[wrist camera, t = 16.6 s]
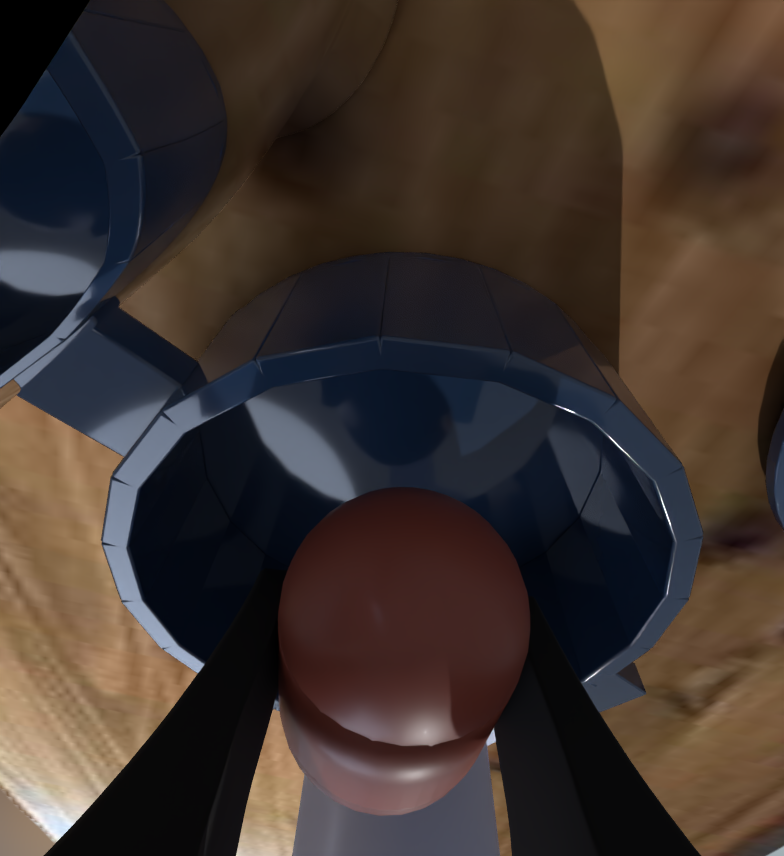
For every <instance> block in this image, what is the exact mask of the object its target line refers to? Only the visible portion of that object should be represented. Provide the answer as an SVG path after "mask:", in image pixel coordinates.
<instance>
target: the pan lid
mask: <svg viewBox="0 0 784 856" xmlns="http://www.w3.org/2000/svg"><path fill="white" fill-rule="evenodd" d="M765 481H766V488H767V494H768V500H769V504H770V506H771V509H772V511H773V514H774V516H775V519H776V520H777V522H778V523H779V525H780V526H781V527H782V529H783V530H784V407H783V410H782V412H781V415H780V417H779V420H778V422H777V424H776V427H775V429H774V432H773V435H772V439H771V443H770V447H769V451H768V455H767V462H766V480H765Z"/></svg>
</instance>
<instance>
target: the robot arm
mask: <svg viewBox="0 0 784 856" xmlns="http://www.w3.org/2000/svg"><path fill="white" fill-rule="evenodd" d="M286 573H287V571H286V570H276V569H267V568H265V569H263V570H262V571H260V573H259V575H258V577H257V579H256V581H255V583H254V585H253V587H252V589H251V591H250V593H249V594H248V596H247V598H246V600H245V602H244V603H243V605H242V607H241V608H240V610H239V612H238V613H237V615H236V617H235V618H234V620H233V622H232V623H231V625H230V627H229V628H228V630H227V631H226V633H225V634H224V636H223V637H222V639H221V640H220V642H219V643H218V645H217V646H216V648H215V649H214V651H213V652H212V654H211V655H210V657H209V659H208V660H207V662H206V663H205V664H204V666H203V667H202V669H201V670H200V672H199V673H198V674H197V676H196V677H195V678H194V680H193V681H192V682H191V684H190V685H189V687H188V688H187V689H186V691H185V692H184V693H183V695H182V696H181V697H180V699H179V700H178V702H177V703H176V704H175V706H174V707H173V708H172V710H171V711H170V712H169V713H168V715H167V716H166V717H165V719H164V720H163V721H162V722H161V724H160V725H159V726H158V727H157V729H156V730H155V731H154V732H153V734H152V735H151V736H150V737H149V739H148V740H147V741H146V742H145V744H144V745H143V746H142V747H141V748H140V750H139V751H138V752H137V753H136V754H135V756H134V757H133V758H132V759H131V760H130V762H129V763H128V764H127V765H126V766H125V767H124V769H123V770H122V771H121V772H120V773H119V774H118V775H117V777H116V778H115V779H114V780H113V781H112V782H111V783H110V785H109V786H108V787H107V788H106V789H105V790H104V791H103V793H102V794H101V795H100V796H99V797H98V798H97V799H96V801H95V802H94V803H93V804H92V805H91V806H90V807H89V808H88V809H87V810H86V812H85V813H84V814H83V815H82V816H81V817H80V818H79V819H78V820H77V821H76V822H75V824H74V825H73V826H72V827H71V828H70V829H69V830H68V831H67V832H66V833H65V834H64V835H63V836H62V837H61V838H60V839H59V840H58V841H57V842H56V843H55V844H54V846H53V847H52V848H51V849H50V850H49V851H48V852H47V853H46V854H45V855H44V856H236V853H237V848H238V843H239V838H240V833H241V828H242V823H243V818H244V813H245V809H246V804H247V800H248V796H249V792H250V788H251V784H252V781H253V777H254V774H255V770H256V766H257V763H258V759H259V756H260V752H261V749H262V745H263V742H264V738H265V735H266V731H267V728H268V724H269V721H270V717H271V714H272V710H273V707H274V703H275V699H276V696H277V692H278V689H279V684H278V610H279V604H280V598H281V592H282V586H283V581H284V579H285V576H286ZM528 600H529V608H530V638H529V648H528V653H527V656H526V659H525V663H524V666H523V669H522V672H521V675H520V678H519V681H518V683H517V685H516V688H515V690H514V691H513V693H512V695H511V697H510V699H509V701H508V703H507V705H506V706H505V708H504V710H503V712H502V714H501V716H500V717H499V719H498V721H497V723H496V725H495V727H494V728H493V730H492V732H491V734H490V736H489V738H488V739H487V741H486V743H485V745H484V747H483V748H482V750H481V752H480V754H479V756H478V758H477V759H476V761H475V763H474V764H473V766H472V767H471V769H470V770H469V771H468V773H467V774H466V775H465V776H464V777H463V779H462V780H461V781H460V782H459V783H458V784H457V785H456V786H455V787H454V788H452V789H451V790H450V791H449V792H448V793H447V794H446V795H445V796H444V797H443V798H441V799H439V800H438V801H436V802H434V803H432V804H431V805H429V806H427V807H426V808H423V809H420V810H417V811H413V812H410V813H407V814H403V815H385V816H378V815H373V814H368V813H363V812H358V811H354V810H352V809H350V808H348V807H346V806H344V805H341V804H339V803H337V802H335V801H333V800H332V799H331V798H329V797H328V796H327V795H326V794H324V793H323V792H322V791H320V790H319V789H318V788H316V787H315V786H314V785H313V783H312V782H311V781H310V780H309V779H308V777H307V776H306V775H305V774H304V781H303V788H302V794H301V801H300V808H299V814H298V821H297V827H296V834H295V841H294V847H293V854H292V856H500V851H499V843H498V834H497V826H496V817H495V809H494V800H493V792H492V783H491V775H490V767H489V758H488V750H487V746H488V745H490V744H492V743H494V742H496V745H497V750H498V756H499V762H500V768H501V774H502V780H503V786H504V792H505V798H506V804H507V812H508V819H509V827H510V837H511V848H512V856H701V855H700V854H699V853H698V851H697V850H696V849H695V848H694V846H693V845H692V844H691V843H690V841H689V840H688V839H687V837H686V836H685V835H684V833H683V832H682V831H681V830H680V828H679V827H678V826H677V824H676V823H675V822H674V820H673V819H672V818H671V816H670V815H669V814H668V812H667V811H666V810H665V808H664V807H663V806H662V804H661V803H660V802H659V800H658V799H657V798H656V796H655V795H654V793H653V792H652V791H651V789H650V788H649V787H648V785H647V784H646V782H645V781H644V780H643V778H642V777H641V775H640V774H639V772H638V771H637V770H636V768H635V767H634V765H633V764H632V762H631V761H630V759H629V758H628V756H627V755H626V753H625V752H624V750H623V749H622V747H621V746H620V744H619V743H618V741H617V740H616V738H615V737H614V735H613V734H612V732H611V730H610V729H609V727H608V726H607V724H606V723H605V721H604V719H603V718H602V716H601V715H600V713H599V711H598V710H597V708H596V707H595V705H594V703H593V702H592V700H591V698H590V697H589V695H588V693H587V692H586V690H585V688H584V687H583V685H582V683H581V682H580V680H579V678H578V676H577V675H576V673H575V671H574V670H573V668H572V666H571V664H570V663H569V661H568V659H567V657H566V655H565V654H564V652H563V650H562V648H561V646H560V644H559V643H558V641H557V639H556V637H555V635H554V633H553V632H552V630H551V628H550V626H549V624H548V622H547V620H546V618H545V616H544V614H543V612H542V611H541V609H540V607H539V605H538V603H537V601H536V599H535V598H534V597H533V596H528Z"/></svg>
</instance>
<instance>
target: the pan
mask: <svg viewBox="0 0 784 856" xmlns="http://www.w3.org/2000/svg"><path fill="white" fill-rule="evenodd" d="M17 396H18V397H20V398H22V399H24V400H25V401H27V402H29V403H31V404H32V405H34V406H36V407H38V408H39V409H41V410H43V411H44V412H46V413H48V414H50V415H51V416H53V417H55V418H57V419H58V420H60V421H62V422H64V423H65V424H67V425H69V426H71V427H72V428H74V429H76V430H78V431H79V432H81V433H83V434H85V435H86V436H88V437H90V438H92V439H93V440H95V441H97V442H99V443H100V444H102V445H104V446H106V447H107V448H109V449H111V450H113V451H114V452H116V453H118V454H120V455H121V456H123V457H124V458H123V459H122V461H121V462H120V463H119V464H118V466H117V467H116V468H115V470H114V471H113V474H112V476H111V478H110V485H109V491H108V498H107V504H106V511H105V517H104V524H103V530H102V537H101V541H102V547H103V550H104V553H105V556H106V559H107V562H108V565H109V568H110V570H111V573H112V576H113V579H114V582H115V585H116V588H117V591H118V594H119V597H120V599H121V600H122V601H121V602H122V603H123V604H124V606H125V607H126V608H127V609H128V610H129V612H130V613H131V614H132V615H133V616H134V617H135V619H136V620H137V621H138V622H139V623H140V624H141V626H142V627H143V628H144V629H145V630H146V632H147V633H148V634H149V635H150V636H151V637H152V639H153V640H154V641H155V642H156V643H157V645H158V646H159V647H160V648H162V649H163V650H164V651H166V652H167V653H169V654H170V655H172V656H173V657H174V658H176V659H177V660H179V661H180V662H182V663H183V664H185V665H186V666H188V667H189V668H191V669H192V670H193V671H195V672H196V673H199V672H200V670H201V669H202V667H203V666H204V664H205V663H206V662H207V660H208V659H209V657H210V655H211V654H212V652H213V651H214V649H215V648H216V646H217V645H218V643H219V642H220V640H221V639H222V637H223V636H224V634H225V633H226V631H227V630H228V628H229V627H230V625H231V623H232V622H233V620H234V618H235V617H236V615H237V613H238V612H239V610H240V608H241V607H242V605H243V603H244V602H245V600H246V598H247V596H248V594H249V593H250V591H251V589H252V587H253V585H254V583H255V581H256V579H257V577H258V575H259V573H260V571H262V570H263V569H265V568H267V569H276V570H286V571H288V568H289V565H290V563H291V561H292V559H293V557H294V555H295V553H296V551H297V549H298V548H299V546H300V545H301V543H302V542H303V540H304V539H305V537H306V536H307V534H308V533H309V532H310V531H311V530H312V529H313V528H314V527H315V526H316V525H317V524H318V523H319V522H320V521H321V520H322V519H323V518H324V517H325V516H326V515H327V514H328V513H329V512H331V511H332V510H334V509H335V508H337V507H338V506H340V505H341V504H343V503H344V502H347V501H349V500H351V499H354V498H356V497H358V496H361V495H363V494H365V493H368V492H371V491H375V490H379V489H383V488H392V487H415V488H421V489H427V490H432V491H435V492H438V493H441V494H445V495H448V496H450V497H452V498H454V499H456V500H458V501H460V502H462V503H464V504H466V505H467V506H469V507H470V508H472V509H473V510H475V511H476V512H478V513H479V514H480V515H481V516H482V517H483V518H484V519H485V520H487V521H488V522H489V523H490V524H491V526H492V527H493V528H494V529H495V530H496V532H497V533H498V534H499V535H500V536H501V538H502V539H503V540H504V541H505V542H506V544H507V545H508V547H509V549H510V550H511V552H512V554H513V555H514V557H515V559H516V561H517V564H518V567H519V569H520V572H521V575H522V578H523V581H524V584H525V587H526V590H527V593H528V596H533V597H534V598H535V599H536V601H537V603H538V605H539V607H540V609H541V611H542V612H543V614H544V616H545V618H546V620H547V622H548V624H549V626H550V628H551V630H552V632H553V633H554V635H555V637H556V639H557V641H558V643H559V644H560V646H561V648H562V650H563V652H564V654H565V655H566V657H567V659H568V661H569V663H570V664H571V666H572V668H573V670H574V671H575V673H576V675H577V676H578V678H579V680H580V682H581V683H582V685H583V687H584V688H585V690H586V692H587V693H588V695H589V697H590V698H591V700H592V702H593V703H594V705H595V707H596V708H597V710H598V711H599V712H602V711H604V710H607V709H609V708H612V707H615V706H617V705H620V704H622V703H625V702H627V701H630V700H632V699H635V698H638V697H640V696H643V695H645V694H646V691H645V689H644V686H643V683H642V681H641V678H640V676H639V673H638V671H637V668H636V665H635V663H633V661H635V660H636V659H638V658H639V657H640V656H642V655H643V654H645V653H646V652H647V651H649V650H650V648H653V646H654V645H655V644H656V642H657V641H658V640H659V638H660V637H661V636H662V634H663V633H664V632H665V630H666V629H667V628H668V626H669V625H670V624H671V622H672V621H673V620H674V619H675V617H676V616H677V615H678V613H679V612H680V611H681V609H682V608H683V607H684V605H685V604H686V603H687V601H688V600H689V597H690V594H691V589H692V585H693V581H694V576H695V572H696V568H697V563H698V559H699V555H700V550H701V546H702V542H703V530H702V527H701V523H700V520H699V516H698V513H697V510H696V506H695V503H694V500H693V496H692V493H691V489H690V486H689V483H688V479H687V476H686V473H685V469H684V467H683V465H682V463H681V461H680V460H679V459H678V457H677V456H676V454H675V453H674V452H673V450H672V449H671V448H670V446H669V445H668V443H667V442H666V441H665V439H664V438H663V436H662V435H661V434H660V432H659V431H658V429H657V428H656V427H655V425H654V424H653V422H652V421H651V420H650V418H649V417H648V416H647V414H646V413H645V411H644V410H643V409H642V407H641V406H640V404H639V403H638V402H637V400H636V399H635V397H634V396H633V395H632V393H631V392H630V391H629V389H628V388H627V386H626V385H625V384H624V382H623V381H622V379H621V378H620V377H619V375H618V374H617V372H616V371H615V370H614V368H613V367H612V365H611V364H610V363H609V361H608V360H607V359H606V357H605V356H604V354H603V353H602V352H601V351H600V350H599V349H598V348H597V347H596V346H595V345H594V344H593V343H592V342H591V340H590V339H589V338H588V337H587V336H586V335H585V334H584V333H583V331H582V330H581V329H580V328H579V326H578V325H577V324H576V322H575V321H574V320H572V319H571V318H570V317H569V316H568V315H567V314H566V313H565V312H564V311H563V310H562V309H561V308H560V307H559V306H558V305H557V304H556V303H554V302H553V301H551V300H550V299H548V298H547V297H545V296H544V295H542V294H541V293H539V292H538V291H536V290H535V289H533V288H532V287H530V286H529V285H527V284H526V283H524V282H522V281H519V280H517V279H515V278H513V277H511V276H509V275H507V274H505V273H502V272H500V271H498V270H496V269H493V268H490V267H487V266H484V265H480V264H477V263H474V262H471V261H467V260H464V259H460V258H454V257H448V256H442V255H436V254H430V253H412V252H384V253H375V254H366V255H356V256H351V257H347V258H343V259H339V260H335V261H331V262H327V263H323V264H319V265H317V266H314V267H312V268H309V269H307V270H304V271H302V272H299V273H297V274H294V275H292V276H290V277H288V278H286V279H284V280H282V281H281V282H279V283H277V284H276V285H274V286H272V287H270V288H269V289H267V290H265V291H264V292H262V293H260V294H259V295H258V296H257V297H255V298H254V299H253V300H252V301H251V302H249V303H248V304H247V305H246V306H244V307H243V308H241V309H240V310H238V311H236V312H235V313H234V315H232V316H231V317H230V319H229V320H228V321H227V323H226V324H225V325H224V327H223V328H222V329H221V330H220V332H219V333H218V334H217V336H216V337H215V338H214V340H213V341H212V342H211V344H210V345H209V346H208V348H207V349H206V350H205V351H204V353H203V354H202V355H201V357H200V358H199V359H198V361H196V360H195V359H193V358H192V357H190V356H189V355H187V354H186V353H184V352H183V351H182V350H180V349H179V348H177V347H176V346H174V345H173V344H171V343H170V342H169V341H167V340H166V339H164V338H163V337H161V336H160V335H158V334H157V333H156V332H154V331H153V330H151V329H150V328H148V327H147V326H145V325H144V324H143V323H141V322H140V321H138V320H137V319H135V318H134V317H132V316H131V315H129V314H128V313H127V312H125V311H124V310H122V309H121V308H119V307H117V308H116V309H115V310H114V311H113V312H112V313H111V314H109V315H108V316H107V317H106V318H105V319H104V320H102V321H101V322H100V323H99V324H98V325H97V326H96V327H94V328H93V329H92V330H91V331H90V332H89V333H87V334H86V335H85V336H84V337H83V338H82V339H81V340H79V341H78V342H77V343H76V344H75V345H74V346H72V347H71V348H70V349H69V350H68V351H67V352H65V353H64V354H63V355H62V356H61V357H60V358H59V359H57V360H56V361H55V362H54V363H53V364H52V365H50V366H49V367H48V368H47V369H46V370H45V371H44V372H42V373H41V374H40V375H39V376H38V377H37V378H35V379H34V380H33V381H32V382H31V383H30V384H29V385H27V386H26V387H25V388H24V389H23V390H22V391H20V392H19V393H18V394H17ZM273 709H276V710H277V711H280V708H279V689H278V692H277V696H276V699H275V703H274V707H273Z"/></svg>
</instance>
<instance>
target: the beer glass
mask: <svg viewBox="0 0 784 856" xmlns="http://www.w3.org/2000/svg"><path fill="white" fill-rule="evenodd" d="M397 4H398V0H0V409H1V408H2V407H3V406H4V405H5V404H7V403H8V402H9V401H10V400H11V399H12V398H14V397H15V396H16V395H17V394H18V393H19V392H20V391H22V390H23V389H24V388H25V387H26V386H27V385H29V384H30V383H31V382H32V381H33V380H34V379H35V378H37V377H38V376H39V375H40V374H41V373H42V372H44V371H45V370H46V369H47V368H48V367H49V366H50V365H52V364H53V363H54V362H55V361H56V360H57V359H59V358H60V357H61V356H62V355H63V354H64V353H65V352H67V351H68V350H69V349H70V348H71V347H72V346H74V345H75V344H76V343H77V342H78V341H79V340H81V339H82V338H83V337H84V336H85V335H86V334H87V333H89V332H90V331H91V330H92V329H93V328H94V327H96V326H97V325H98V324H99V323H100V322H101V321H102V320H104V319H105V318H106V317H107V316H108V315H109V314H111V313H112V312H113V311H114V310H115V309H116V308H117V307H119V306H120V305H121V304H122V303H123V302H124V301H126V300H127V299H128V298H129V297H130V296H131V295H132V294H134V293H135V292H136V291H137V290H138V289H139V288H141V287H142V286H143V285H144V284H145V283H146V282H148V281H149V280H150V279H151V278H152V277H153V276H154V275H156V274H157V273H158V272H159V271H160V270H161V269H163V268H164V267H165V266H166V265H167V264H168V263H169V262H171V261H172V260H173V259H174V258H175V257H176V256H177V255H178V254H180V253H181V252H182V251H183V250H184V249H185V248H186V247H187V246H188V245H189V244H190V243H191V242H193V241H194V240H195V239H196V238H197V237H198V236H199V235H200V234H201V233H202V231H203V230H204V229H205V228H206V227H207V226H208V225H209V224H210V223H211V222H212V221H213V219H214V218H215V217H216V216H217V215H218V214H219V213H220V212H221V211H222V209H223V208H224V207H225V206H226V205H227V203H228V202H229V201H230V200H231V199H232V197H233V196H234V195H235V194H236V193H237V191H238V190H239V189H240V188H241V187H242V185H243V184H244V183H245V181H246V180H247V178H248V177H249V176H250V174H251V173H252V172H253V170H254V169H255V168H256V166H257V165H258V163H259V162H260V161H261V159H262V158H263V157H264V155H265V154H266V152H267V151H268V149H269V148H270V146H271V145H272V144H273V142H274V141H275V139H276V138H278V137H283V136H288V135H291V134H295V133H298V132H300V131H303V130H305V129H308V128H310V127H312V126H314V125H316V124H317V123H319V122H321V121H322V120H324V119H325V118H327V117H328V116H329V115H331V114H332V113H333V112H335V111H336V110H337V109H338V108H339V107H340V106H341V105H342V104H343V103H345V102H346V101H347V99H348V98H349V97H350V96H351V95H352V94H353V93H354V92H355V91H356V89H357V88H358V87H359V86H360V84H361V83H362V82H363V80H364V79H365V77H366V76H367V74H368V73H369V71H370V70H371V68H372V66H373V65H374V63H375V61H376V59H377V57H378V56H379V54H380V52H381V49H382V47H383V45H384V43H385V41H386V38H387V36H388V33H389V30H390V28H391V25H392V21H393V18H394V15H395V11H396V8H397Z"/></svg>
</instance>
